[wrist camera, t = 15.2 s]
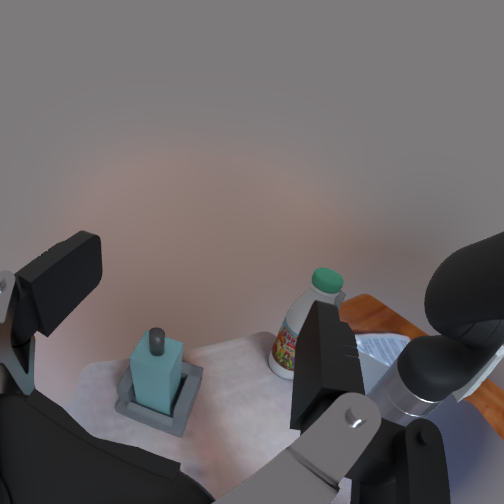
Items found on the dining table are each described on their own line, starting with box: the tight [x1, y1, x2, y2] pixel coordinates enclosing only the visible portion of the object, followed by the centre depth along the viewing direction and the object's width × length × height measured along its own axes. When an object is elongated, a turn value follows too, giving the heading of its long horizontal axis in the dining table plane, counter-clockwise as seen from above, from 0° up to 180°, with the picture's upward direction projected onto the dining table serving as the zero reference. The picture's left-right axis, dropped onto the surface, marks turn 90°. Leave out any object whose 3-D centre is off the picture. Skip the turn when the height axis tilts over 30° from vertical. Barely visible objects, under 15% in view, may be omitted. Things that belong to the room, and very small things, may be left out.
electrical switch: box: [334, 290, 346, 311], centre depth 58 cm, size 9×5×9 cm, turn 150°
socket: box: [115, 361, 203, 437], centre depth 34 cm, size 10×10×4 cm
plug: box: [129, 328, 183, 415], centre depth 31 cm, size 5×5×14 cm
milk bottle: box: [269, 268, 344, 380], centre depth 43 cm, size 8×8×20 cm
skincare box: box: [452, 345, 504, 402], centre depth 41 cm, size 8×6×15 cm
